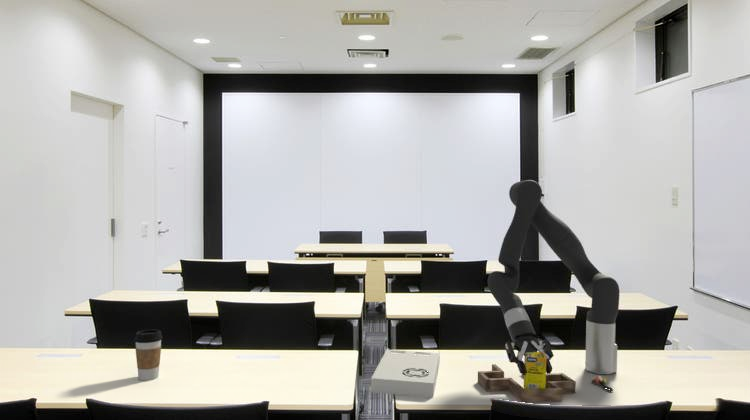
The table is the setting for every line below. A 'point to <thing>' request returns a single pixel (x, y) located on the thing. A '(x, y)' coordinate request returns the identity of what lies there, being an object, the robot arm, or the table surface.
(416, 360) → the white flat box
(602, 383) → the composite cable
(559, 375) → the trap lane
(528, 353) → the supplement box
